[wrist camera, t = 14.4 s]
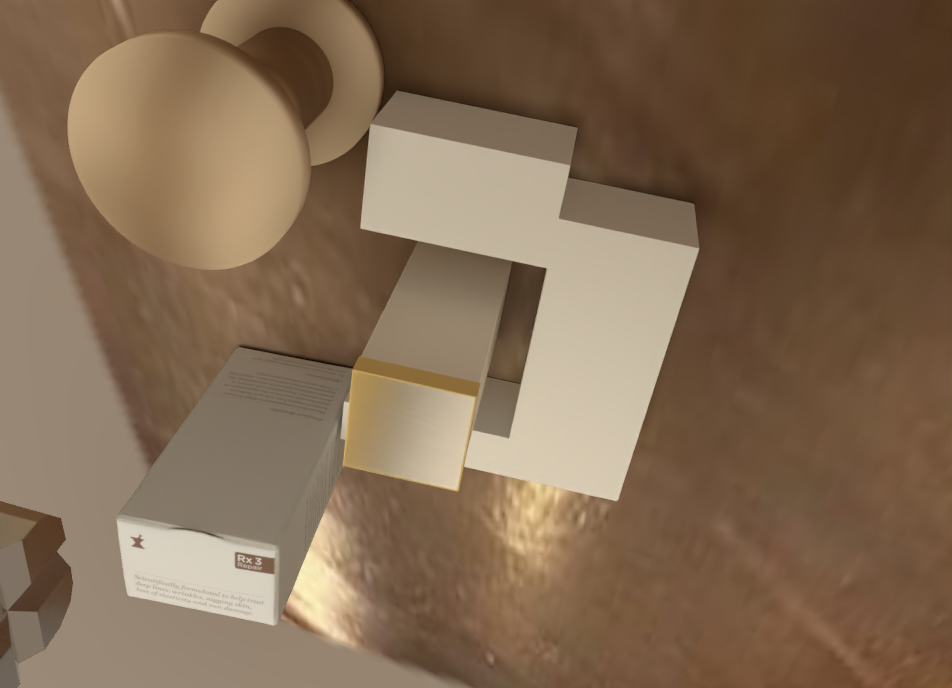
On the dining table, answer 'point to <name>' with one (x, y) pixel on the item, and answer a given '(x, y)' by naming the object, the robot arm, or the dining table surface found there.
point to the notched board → (565, 282)
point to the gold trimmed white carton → (427, 367)
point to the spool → (223, 125)
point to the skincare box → (239, 489)
